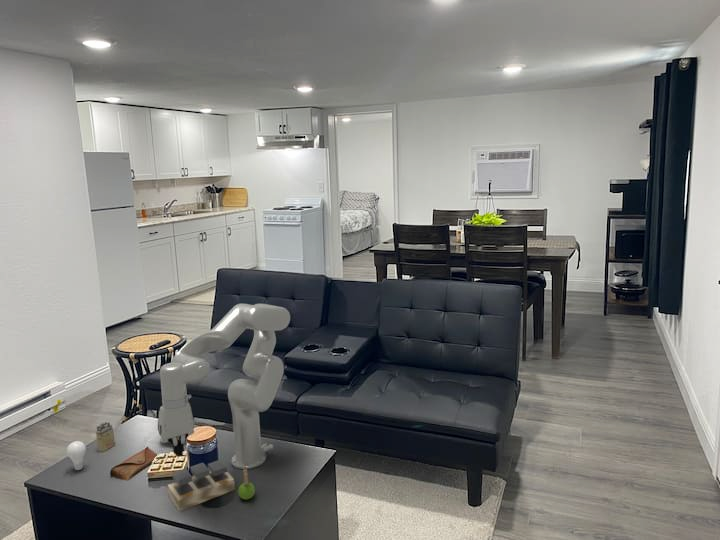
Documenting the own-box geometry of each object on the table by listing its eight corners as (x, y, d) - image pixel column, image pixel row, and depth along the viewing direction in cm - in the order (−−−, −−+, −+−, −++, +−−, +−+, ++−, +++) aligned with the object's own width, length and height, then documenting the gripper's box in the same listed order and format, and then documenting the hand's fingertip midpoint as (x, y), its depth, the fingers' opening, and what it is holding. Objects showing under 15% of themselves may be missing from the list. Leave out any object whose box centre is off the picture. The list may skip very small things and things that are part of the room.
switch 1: (186, 477, 188) (185, 468, 187) (192, 485, 183) (191, 476, 182) (173, 482, 185) (172, 473, 185) (179, 490, 181) (178, 480, 180)
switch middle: (203, 471, 191) (202, 462, 191) (210, 479, 187) (209, 469, 186) (191, 475, 189) (190, 466, 188) (197, 483, 184) (196, 474, 183)
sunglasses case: (127, 481, 197) (118, 464, 197) (116, 487, 200) (107, 470, 200) (164, 456, 213) (156, 441, 213) (153, 462, 216) (145, 447, 216)
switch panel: (222, 475, 199) (221, 465, 198) (235, 489, 190) (234, 478, 189) (168, 495, 188) (167, 484, 187) (179, 511, 179) (178, 499, 178)
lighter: (110, 442, 225) (107, 419, 223) (117, 444, 223) (114, 421, 221) (96, 450, 219) (92, 427, 217) (103, 452, 217) (100, 429, 215)
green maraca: (239, 506, 181) (236, 472, 178) (238, 495, 187) (235, 462, 184) (256, 502, 182) (254, 469, 180) (254, 492, 188) (252, 459, 186)
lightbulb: (65, 473, 203) (61, 445, 201) (78, 464, 209) (75, 436, 207) (79, 475, 201) (75, 447, 199) (92, 466, 207) (88, 439, 205)
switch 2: (220, 468, 195) (219, 459, 194) (227, 476, 190) (226, 466, 190) (208, 472, 192) (207, 463, 192) (215, 480, 188) (214, 471, 187)
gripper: (193, 392, 186) (197, 443, 189) (147, 403, 177) (152, 457, 180) (201, 399, 180) (205, 452, 183) (154, 411, 171) (159, 466, 174)
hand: (178, 454), depth 182 cm, fingers closed
